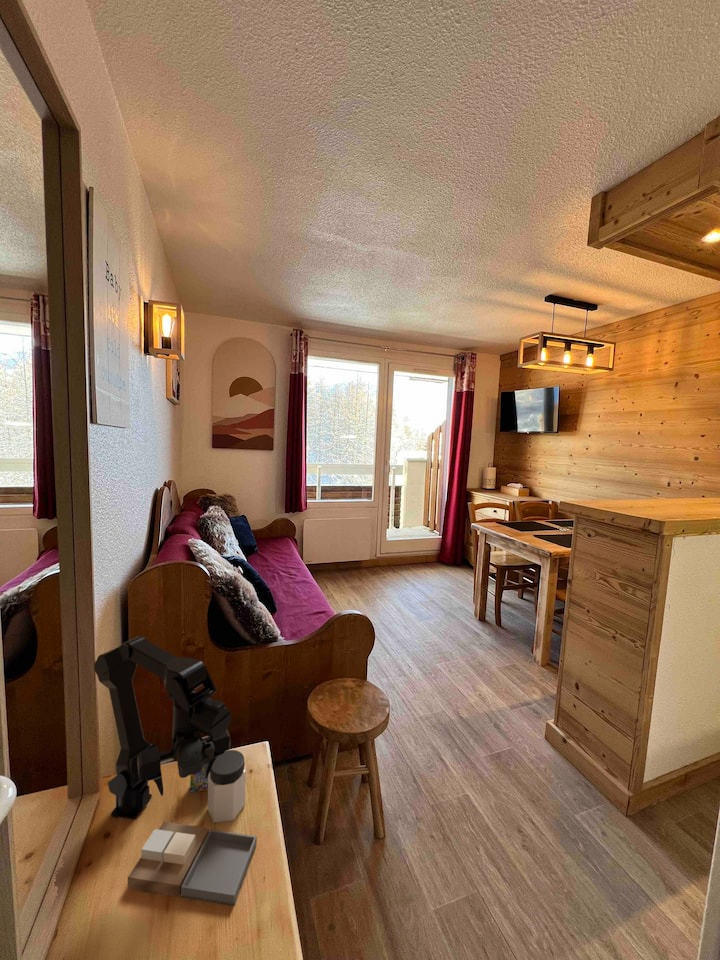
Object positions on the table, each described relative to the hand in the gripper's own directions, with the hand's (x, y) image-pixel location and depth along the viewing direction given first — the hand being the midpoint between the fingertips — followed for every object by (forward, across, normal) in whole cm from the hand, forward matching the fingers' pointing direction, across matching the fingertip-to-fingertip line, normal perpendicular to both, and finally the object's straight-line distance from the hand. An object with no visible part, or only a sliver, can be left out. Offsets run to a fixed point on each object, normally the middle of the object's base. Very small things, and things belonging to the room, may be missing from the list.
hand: (184, 785), depth 88 cm
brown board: (+13, -3, -4) cm, 14 cm away
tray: (+12, +6, -12) cm, 18 cm away
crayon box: (+13, +8, +12) cm, 19 cm away
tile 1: (+10, -5, -2) cm, 12 cm away
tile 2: (+10, -2, -6) cm, 12 cm away
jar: (+13, +10, +3) cm, 17 cm away
